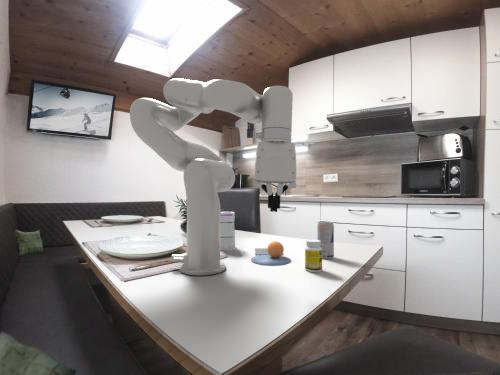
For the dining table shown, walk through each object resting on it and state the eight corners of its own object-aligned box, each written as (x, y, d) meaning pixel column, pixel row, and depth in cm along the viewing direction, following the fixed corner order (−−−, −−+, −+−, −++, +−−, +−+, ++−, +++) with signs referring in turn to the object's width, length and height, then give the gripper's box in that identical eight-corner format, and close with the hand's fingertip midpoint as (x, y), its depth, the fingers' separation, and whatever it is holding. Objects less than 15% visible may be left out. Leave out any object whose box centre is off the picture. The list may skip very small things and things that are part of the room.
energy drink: (335, 256, 90) (335, 222, 90) (331, 260, 85) (331, 223, 85) (320, 254, 92) (320, 221, 93) (315, 257, 88) (315, 222, 88)
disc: (250, 265, 79) (250, 264, 79) (251, 255, 92) (251, 254, 92) (293, 265, 78) (293, 264, 78) (288, 255, 91) (288, 254, 91)
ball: (268, 245, 92) (268, 260, 89) (266, 238, 88) (266, 254, 85) (283, 245, 92) (284, 260, 88) (283, 238, 87) (283, 254, 84)
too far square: (255, 254, 92) (255, 254, 92) (255, 248, 102) (255, 248, 102) (283, 255, 92) (283, 254, 92) (280, 249, 102) (280, 248, 102)
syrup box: (234, 250, 99) (234, 212, 100) (218, 250, 99) (218, 212, 100) (235, 247, 105) (235, 211, 105) (220, 247, 105) (220, 211, 105)
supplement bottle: (322, 273, 71) (322, 242, 71) (305, 272, 72) (305, 241, 72) (321, 268, 76) (321, 239, 76) (304, 267, 77) (304, 238, 77)
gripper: (245, 134, 62) (243, 211, 61) (309, 136, 61) (306, 213, 61) (247, 140, 69) (244, 209, 69) (303, 141, 69) (301, 211, 69)
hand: (273, 211), depth 65 cm, fingers closed
